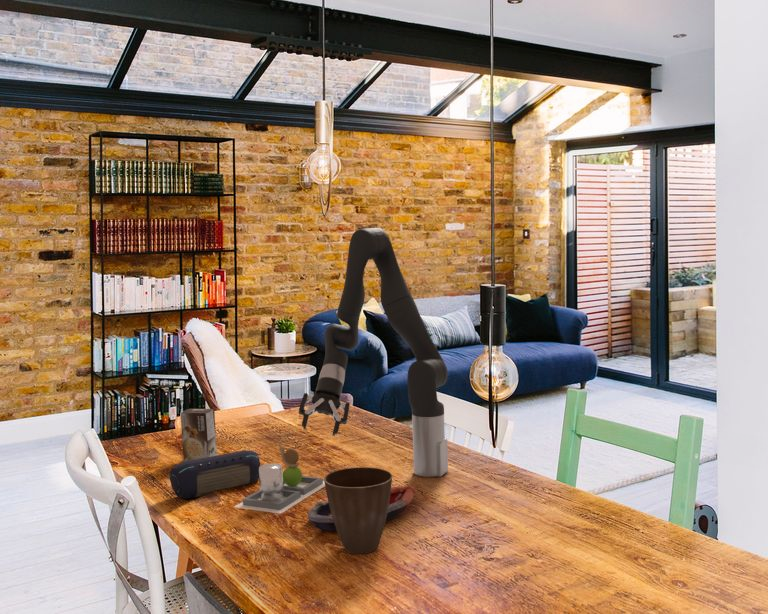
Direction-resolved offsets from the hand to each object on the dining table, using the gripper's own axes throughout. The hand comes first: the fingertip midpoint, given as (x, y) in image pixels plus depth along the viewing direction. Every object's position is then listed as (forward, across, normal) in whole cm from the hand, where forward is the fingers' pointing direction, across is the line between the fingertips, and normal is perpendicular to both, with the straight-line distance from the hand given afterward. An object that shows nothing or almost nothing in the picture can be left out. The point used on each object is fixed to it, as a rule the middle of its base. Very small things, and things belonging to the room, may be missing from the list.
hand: (319, 431), depth 220 cm
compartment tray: (+23, -5, -4) cm, 24 cm away
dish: (+29, +16, -19) cm, 38 cm away
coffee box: (+4, -35, +32) cm, 47 cm away
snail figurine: (+18, -4, 0) cm, 18 cm away
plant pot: (+41, +15, -33) cm, 55 cm away
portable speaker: (+21, -23, +6) cm, 32 cm away
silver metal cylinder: (+26, -8, -9) cm, 28 cm away
